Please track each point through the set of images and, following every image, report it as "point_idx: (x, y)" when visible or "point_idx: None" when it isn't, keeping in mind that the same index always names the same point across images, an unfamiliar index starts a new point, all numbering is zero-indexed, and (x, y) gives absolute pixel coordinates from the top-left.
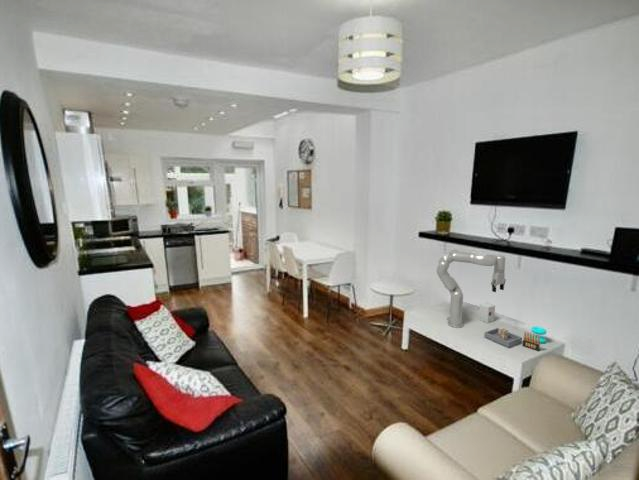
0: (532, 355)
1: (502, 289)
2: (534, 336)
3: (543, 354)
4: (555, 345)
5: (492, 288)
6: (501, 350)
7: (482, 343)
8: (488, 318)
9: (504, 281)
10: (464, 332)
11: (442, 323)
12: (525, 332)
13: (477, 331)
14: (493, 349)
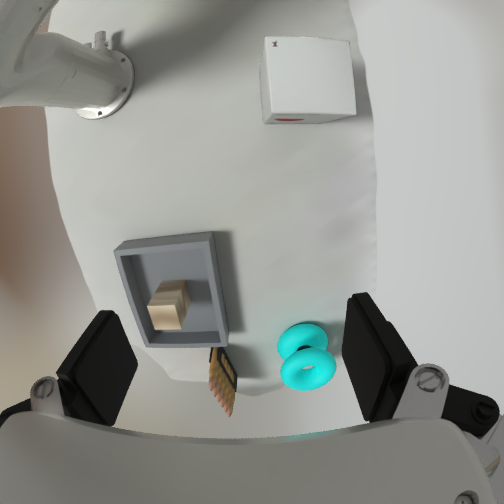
0: (190, 380)
1: (344, 353)
2: (293, 347)
3: None
4: None
5: (78, 350)
6: None
7: (90, 273)
8: (272, 122)
9: (478, 449)
10: (82, 169)
11: None
12: (210, 387)
13: (137, 180)
14: None
